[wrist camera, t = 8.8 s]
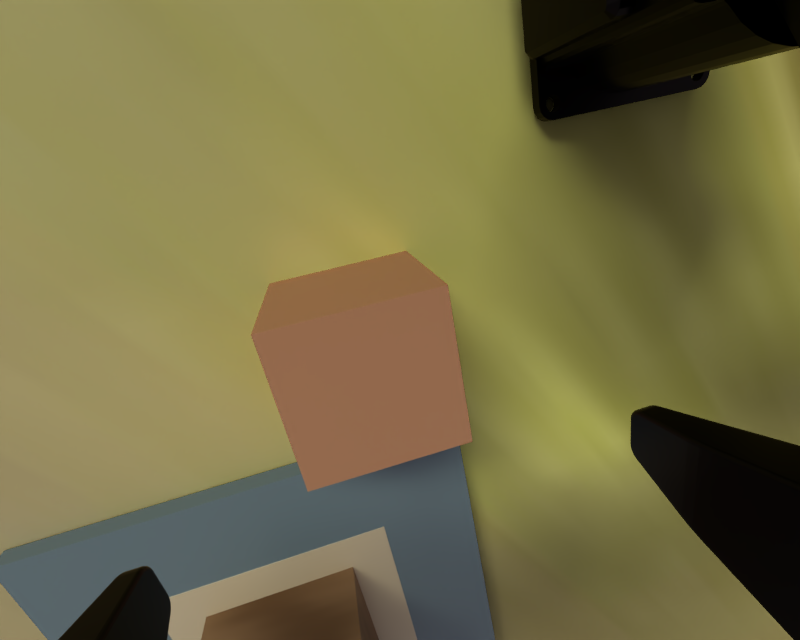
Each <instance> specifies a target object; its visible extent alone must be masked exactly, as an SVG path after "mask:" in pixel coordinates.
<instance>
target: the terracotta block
mask: <svg viewBox="0 0 800 640" xmlns="http://www.w3.org/2000/svg"><path fill="white" fill-rule="evenodd" d="M251 336H252V339H253V342H254V344H255V347H256V350H257V353H258V355H259V358H260V361H261V364H262V366H263V369H264V372H265V375H266V377H267V380H268V383H269V386H270V388H271V391H272V394H273V397H274V399H275V402H276V405H277V408H278V411H279V413H280V416H281V419H282V422H283V424H284V427H285V430H286V433H287V435H288V438H289V441H290V444H291V446H292V449H293V452H294V455H295V457H296V460H297V463H298V466H299V468H300V471H301V474H302V477H303V480H304V482H305V485H306V488H307V491H308V492H309V491H312V490H316V489H319V488H322V487H325V486H329V485H332V484H335V483H339V482H342V481H345V480H348V479H352V478H355V477H358V476H362V475H365V474H368V473H371V472H375V471H378V470H381V469H384V468H388V467H391V466H394V465H398V464H401V463H404V462H407V461H411V460H414V459H417V458H421V457H424V456H427V455H430V454H434V453H437V452H440V451H443V450H447V449H450V448H453V447H457V446H460V445H463V444H466V443H470V442H472V435H471V429H470V423H469V416H468V410H467V404H466V397H465V391H464V385H463V378H462V372H461V366H460V359H459V353H458V347H457V340H456V334H455V328H454V321H453V315H452V309H451V302H450V296H449V290H448V285H447V284H446V283H445V282H444V281H442V280H441V279H440V278H439V277H438V276H436V275H435V274H434V273H433V272H431V271H430V270H429V269H428V268H427V267H425V266H424V265H423V264H422V263H420V262H419V261H418V260H417V259H416V258H414V257H413V256H412V255H411V254H409V253H408V252H407V251H403V252H399V253H395V254H391V255H386V256H382V257H378V258H374V259H370V260H366V261H361V262H357V263H353V264H349V265H345V266H341V267H337V268H332V269H328V270H324V271H320V272H316V273H312V274H308V275H303V276H299V277H295V278H291V279H287V280H283V281H278V282H274V283H270V284H269V286H268V289H267V292H266V295H265V297H264V300H263V303H262V306H261V309H260V311H259V314H258V317H257V320H256V323H255V325H254V328H253V331H252V334H251Z"/></svg>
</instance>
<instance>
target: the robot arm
mask: <svg viewBox="0 0 800 640" xmlns="http://www.w3.org/2000/svg"><path fill="white" fill-rule="evenodd" d="M521 3H522V17H523V30H524V44H525V52H526V54H527V55H528V56H529V57H530V68H531V82H532V96H533V109H534V113H535V115H536V116H537V118H538V119H540V120H541V121H551V120H556V119H561V118H565V117H570V116H574V115H579V114H584V113H588V112H593V111H597V110H602V109H606V108H611V107H615V106H620V105H625V104H629V103H634V102H638V101H643V100H647V99H652V98H657V97H661V96H666V95H670V94H675V93H679V92H684V91H688V90H693V89H697V88H699V87H701V86H702V85H703V84H704V83H705V82H706V80H707V78H708V76H709V71H710V70H713V69H717V68H721V67H725V66H729V65H733V64H737V63H741V62H745V61H749V60H753V59H757V58H761V57H765V56H769V55H773V54H777V53H781V52H785V51H789V50H793V49H797V48H800V0H521ZM693 74H694V76H693V79H692V78H691V75H693ZM549 97H550V98H551V99H552V100H553V103H554V106H553V109H552V111H551V112H550V111H549V110H548V109H547V107H546V102H547V100H548V98H549ZM631 448H632V451H633V454H634V455H635V457H636V459H637V460H638V461H639V462H640V464H641V465H642V466H643V468H644V469H645V470H646V471H647V473H648V474H649V475H650V477H651V478H652V479H653V481H654V482H655V483H656V484H657V486H658V487H659V488H660V490H661V491H662V492H663V493H664V495H665V496H666V497H667V499H668V500H669V501H670V502H671V504H672V505H673V506H674V508H675V509H676V510H677V511H678V513H679V514H680V515H681V517H682V518H683V519H684V520H685V521H686V523H687V524H688V525H689V526H690V528H691V529H692V530H693V531H694V532H695V533H696V534H697V536H698V537H699V538H700V539H701V540H702V541H703V542H704V543H705V544H706V545H707V547H708V548H709V549H710V550H711V551H712V552H713V553H714V554H715V555H716V556H717V557H718V558H719V560H720V561H721V562H722V563H723V564H724V565H725V566H726V567H727V568H728V569H729V570H730V571H731V572H732V574H733V575H734V576H735V577H736V578H737V579H738V580H739V581H740V582H741V583H742V584H743V585H744V587H745V588H746V589H747V590H748V591H749V592H750V593H751V594H752V595H753V596H754V597H755V598H756V599H757V601H758V602H759V603H760V604H761V605H762V606H763V607H764V608H765V609H766V610H767V611H768V612H769V613H770V615H771V616H772V617H773V618H774V619H775V620H776V621H777V622H778V623H779V624H780V625H781V626H782V628H783V629H784V630H785V631H786V632H787V633H788V634H789V635H790V636H791V637H792V638H793V639H794V640H800V446H798V445H795V444H791V443H788V442H784V441H781V440H777V439H773V438H770V437H766V436H763V435H759V434H756V433H752V432H748V431H745V430H741V429H738V428H734V427H731V426H727V425H723V424H720V423H716V422H713V421H709V420H706V419H702V418H699V417H695V416H691V415H688V414H684V413H681V412H677V411H674V410H670V409H666V408H663V407H659V406H654V405H652V406H648V407H644V408H641V409H638V410H635V411H634V412H633V413H632V415H631ZM170 615H171V602H170V598H169V595H168V594H167V592H166V590H165V589H164V587H163V586H162V584H161V582H160V581H159V579H158V578H157V576H156V574H155V573H154V571H153V570H152V569H151V568H150V567H148V566H141V567H138V568H135V569H132V570H129V571H125V572H123V573H121V574H120V575H118V576H117V577H116V578H115V579H114V580H113V581H112V582H111V583H110V584H109V586H108V587H107V588H106V589H105V590H104V591H103V592H102V593H101V594H100V595H99V596H98V597H97V598H96V599H95V601H94V602H93V603H92V604H91V605H90V606H89V607H88V608H87V609H86V610H85V611H84V612H83V613H82V614H81V616H80V617H79V618H78V619H77V620H76V621H75V622H74V623H73V624H72V625H71V626H70V627H69V628H68V629H67V631H66V632H65V633H64V634H63V635H62V636H61V637H60V638H59V639H58V640H167V637H168V630H169V622H170Z"/></svg>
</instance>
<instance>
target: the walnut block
mask: <svg viewBox="0 0 800 640" xmlns="http://www.w3.org/2000/svg"><path fill="white" fill-rule="evenodd" d="M201 640H379V638H378V635H377V633H376V630H375V627H374V624H373V621H372V619H371V616H370V613H369V610H368V607H367V605H366V602H365V599H364V596H363V593H362V591H361V588H360V585H359V582H358V579H357V577H356V574H355V571H354V568H353V567H351V568H348V569H345V570H343V571H340V572H337V573H334V574H331V575H328V576H325V577H322V578H319V579H316V580H313V581H310V582H307V583H304V584H302V585H299V586H296V587H293V588H290V589H287V590H284V591H281V592H278V593H275V594H272V595H269V596H266V597H263V598H260V599H258V600H255V601H252V602H249V603H246V604H243V605H240V606H237V607H234V608H231V609H228V610H225V611H222V612H219V613H217V614H214V615H211V616H208V617H206V620H205V625H204V629H203V633H202V638H201Z"/></svg>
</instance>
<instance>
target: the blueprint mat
mask: <svg viewBox="0 0 800 640" xmlns="http://www.w3.org/2000/svg"><path fill="white" fill-rule="evenodd" d="M141 566H148V567H150V568H151V569H152V570H153V571H154V573H155V574H156V576H157V578H158V579H159V581H160V582H161V584H162V586H163V587H164V589H165V590H166V592H167V594H168V595H169V598H170V602H171V615H170V622H169V630H168V637H167V640H201V638H202V633H203V629H204V625H205V620H206V617H208V616H211V615H214V614H217V613H219V612H222V611H225V610H228V609H231V608H234V607H237V606H240V605H243V604H246V603H249V602H252V601H255V600H258V599H260V598H263V597H266V596H269V595H272V594H275V593H278V592H281V591H284V590H287V589H290V588H293V587H296V586H299V585H302V584H304V583H307V582H310V581H313V580H316V579H319V578H322V577H325V576H328V575H331V574H334V573H337V572H340V571H343V570H345V569H348V568H351V567H353V568H354V571H355V574H356V577H357V579H358V582H359V585H360V588H361V591H362V593H363V596H364V599H365V602H366V605H367V607H368V610H369V613H370V616H371V619H372V621H373V624H374V627H375V630H376V633H377V635H378V638H379V640H495V637H494V631H493V626H492V620H491V614H490V609H489V603H488V598H487V592H486V587H485V581H484V576H483V570H482V565H481V559H480V554H479V548H478V543H477V537H476V532H475V526H474V521H473V515H472V510H471V504H470V499H469V493H468V488H467V482H466V477H465V471H464V466H463V460H462V455H461V449H460V446H457V447H453V448H450V449H447V450H443V451H440V452H437V453H434V454H430V455H427V456H424V457H421V458H417V459H414V460H411V461H407V462H404V463H401V464H398V465H394V466H391V467H388V468H384V469H381V470H378V471H375V472H371V473H368V474H365V475H362V476H358V477H355V478H352V479H348V480H345V481H342V482H339V483H335V484H332V485H329V486H325V487H322V488H319V489H316V490H312V491H309V492H308V491H307V488H306V485H305V482H304V480H303V477H302V474H301V471H300V468H299V466H298V463H297V462H296V463H293V464H289V465H286V466H283V467H279V468H276V469H273V470H269V471H266V472H263V473H260V474H256V475H253V476H250V477H246V478H243V479H240V480H236V481H233V482H230V483H227V484H223V485H220V486H217V487H213V488H210V489H207V490H203V491H200V492H197V493H193V494H190V495H187V496H184V497H180V498H177V499H174V500H170V501H167V502H164V503H160V504H157V505H154V506H150V507H147V508H144V509H141V510H137V511H134V512H131V513H127V514H124V515H121V516H117V517H114V518H111V519H108V520H104V521H101V522H98V523H94V524H91V525H88V526H84V527H81V528H78V529H74V530H71V531H68V532H65V533H61V534H58V535H55V536H51V537H48V538H45V539H41V540H38V541H35V542H32V543H28V544H25V545H22V546H18V547H15V548H12V549H8V550H5V551H4V552H3V553H2V554H1V555H0V583H1V584H2V585H3V586H4V588H5V589H6V590H7V591H8V592H9V594H10V595H11V596H12V597H13V598H14V600H15V601H16V602H17V603H18V604H19V606H20V607H21V608H22V609H23V610H24V612H25V613H26V614H27V615H28V616H29V618H30V619H31V620H32V621H33V622H34V624H35V625H36V626H37V627H38V628H39V630H40V631H41V632H42V633H43V634H44V636H45V637H46V638H47V639H48V640H58V639H59V638H60V637H61V636H62V635H63V634H64V633H65V632H66V631H67V629H68V628H69V627H70V626H71V625H72V624H73V623H74V622H75V621H76V620H77V619H78V618H79V617H80V616H81V614H82V613H83V612H84V611H85V610H86V609H87V608H88V607H89V606H90V605H91V604H92V603H93V602H94V601H95V599H96V598H97V597H98V596H99V595H100V594H101V593H102V592H103V591H104V590H105V589H106V588H107V587H108V586H109V584H110V583H111V582H112V581H113V580H114V579H115V578H116V577H117V576H118V575H120V574H121V573H123V572H125V571H129V570H132V569H135V568H138V567H141Z"/></svg>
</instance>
